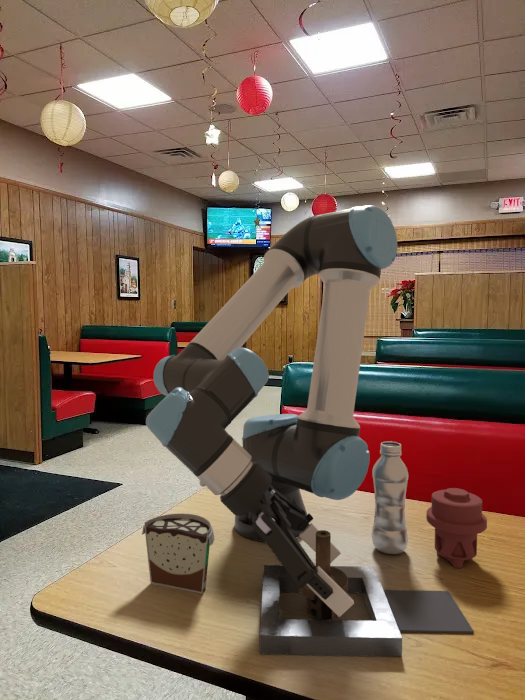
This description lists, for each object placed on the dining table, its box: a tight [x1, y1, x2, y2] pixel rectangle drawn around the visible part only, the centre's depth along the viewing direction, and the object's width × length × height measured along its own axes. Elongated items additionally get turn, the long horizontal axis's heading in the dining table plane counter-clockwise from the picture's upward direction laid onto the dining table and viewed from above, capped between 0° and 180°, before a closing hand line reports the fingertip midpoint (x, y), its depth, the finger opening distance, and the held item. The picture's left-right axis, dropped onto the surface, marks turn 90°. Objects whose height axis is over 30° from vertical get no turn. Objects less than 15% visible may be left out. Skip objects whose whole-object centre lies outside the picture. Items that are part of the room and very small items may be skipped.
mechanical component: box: [426, 487, 488, 569], centre depth 87 cm, size 12×10×10 cm
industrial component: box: [298, 529, 348, 620], centre depth 71 cm, size 9×7×12 cm
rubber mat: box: [383, 589, 475, 634], centre depth 72 cm, size 10×10×1 cm
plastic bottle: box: [371, 441, 409, 555], centre depth 90 cm, size 6×7×20 cm
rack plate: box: [259, 564, 403, 658], centre depth 71 cm, size 18×18×2 cm
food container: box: [141, 513, 215, 595], centre depth 81 cm, size 12×6×10 cm, turn 71°
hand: (340, 581), depth 71 cm, fingers open, 13 cm apart
